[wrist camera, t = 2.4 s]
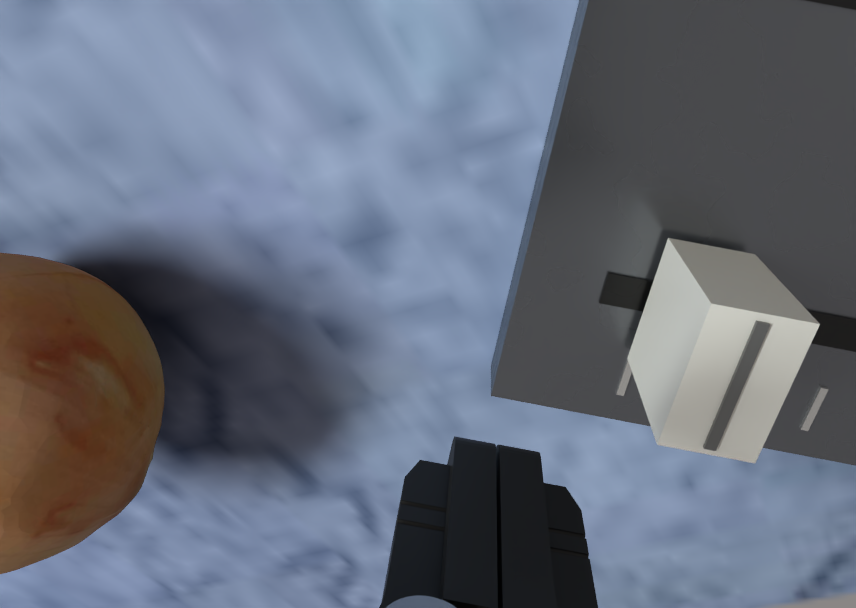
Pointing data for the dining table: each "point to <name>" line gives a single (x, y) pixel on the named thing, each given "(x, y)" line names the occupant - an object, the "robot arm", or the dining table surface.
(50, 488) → the onion
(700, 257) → the fader
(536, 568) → the robot arm
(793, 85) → the console
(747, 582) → the dining table surface
